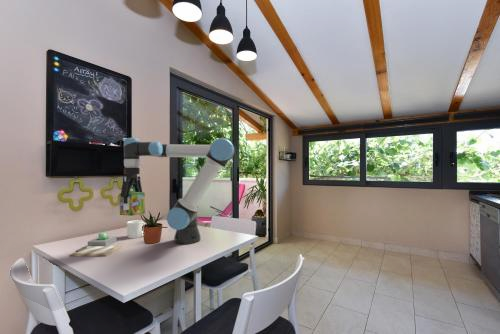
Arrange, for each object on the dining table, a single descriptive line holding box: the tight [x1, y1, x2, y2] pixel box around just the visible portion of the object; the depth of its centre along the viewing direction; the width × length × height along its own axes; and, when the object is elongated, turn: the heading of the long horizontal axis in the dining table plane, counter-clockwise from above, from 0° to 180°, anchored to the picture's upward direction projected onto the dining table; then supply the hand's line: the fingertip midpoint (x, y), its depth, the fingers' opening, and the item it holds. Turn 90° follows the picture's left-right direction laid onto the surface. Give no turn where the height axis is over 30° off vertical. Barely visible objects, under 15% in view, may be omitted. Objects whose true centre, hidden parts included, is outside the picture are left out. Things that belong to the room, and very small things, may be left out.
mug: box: [126, 219, 146, 239], centre depth 155 cm, size 12×9×9 cm
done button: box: [97, 232, 108, 240], centre depth 139 cm, size 4×4×4 cm
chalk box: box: [119, 186, 146, 217], centre depth 133 cm, size 9×9×15 cm
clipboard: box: [69, 245, 122, 257], centre depth 127 cm, size 18×13×1 cm
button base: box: [87, 235, 117, 246], centre depth 139 cm, size 10×10×3 cm
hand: (132, 208), depth 133 cm, fingers closed on chalk box, 11 cm apart
